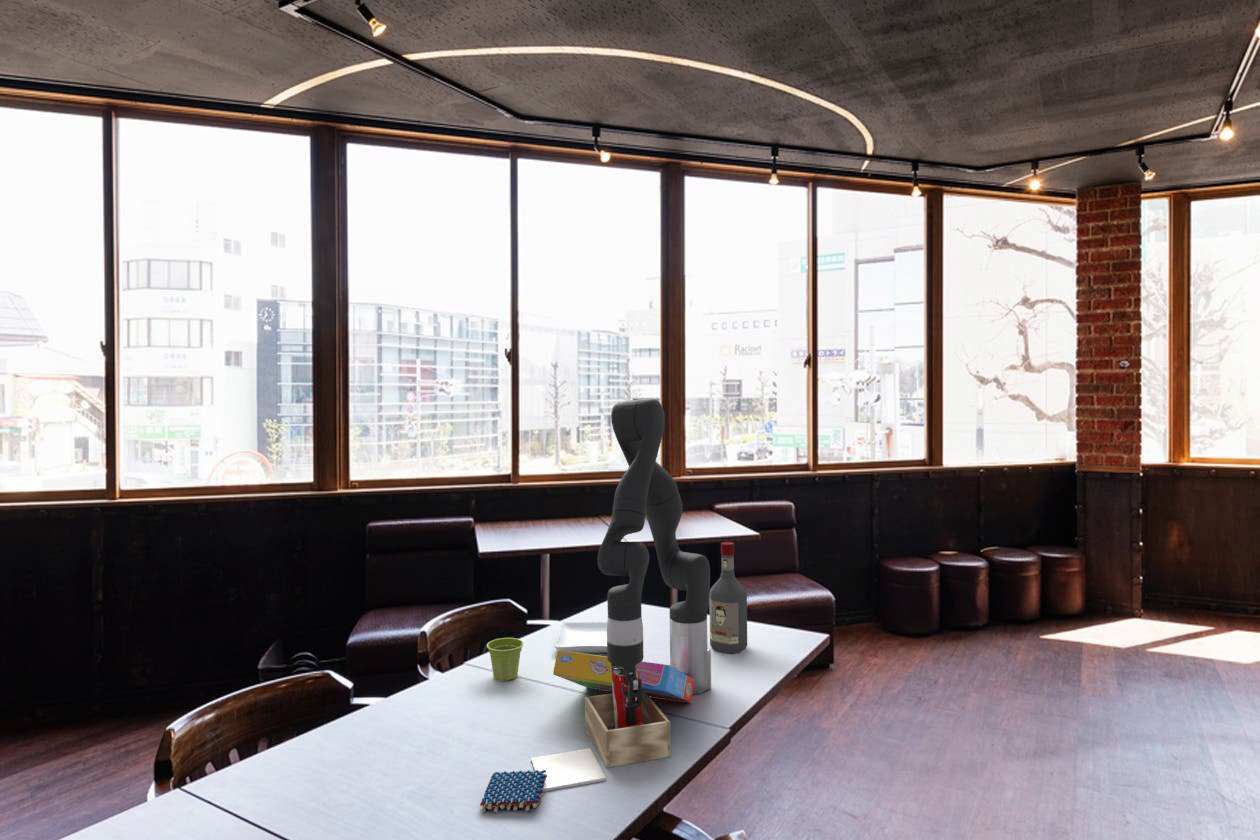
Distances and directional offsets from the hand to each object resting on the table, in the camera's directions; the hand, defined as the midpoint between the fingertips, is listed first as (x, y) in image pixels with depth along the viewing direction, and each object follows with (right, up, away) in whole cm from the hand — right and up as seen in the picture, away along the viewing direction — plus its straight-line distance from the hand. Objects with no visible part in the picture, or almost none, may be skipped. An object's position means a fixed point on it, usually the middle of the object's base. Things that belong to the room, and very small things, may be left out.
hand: (626, 717), depth 149 cm
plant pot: (-31, -5, +36) cm, 48 cm away
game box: (-13, +2, +22) cm, 26 cm away
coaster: (-11, -6, -11) cm, 17 cm away
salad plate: (-10, -4, +61) cm, 62 cm away
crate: (0, -5, 0) cm, 5 cm away
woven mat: (-20, -6, -20) cm, 29 cm away
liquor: (+29, -3, +55) cm, 62 cm away
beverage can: (0, -5, +1) cm, 5 cm away
